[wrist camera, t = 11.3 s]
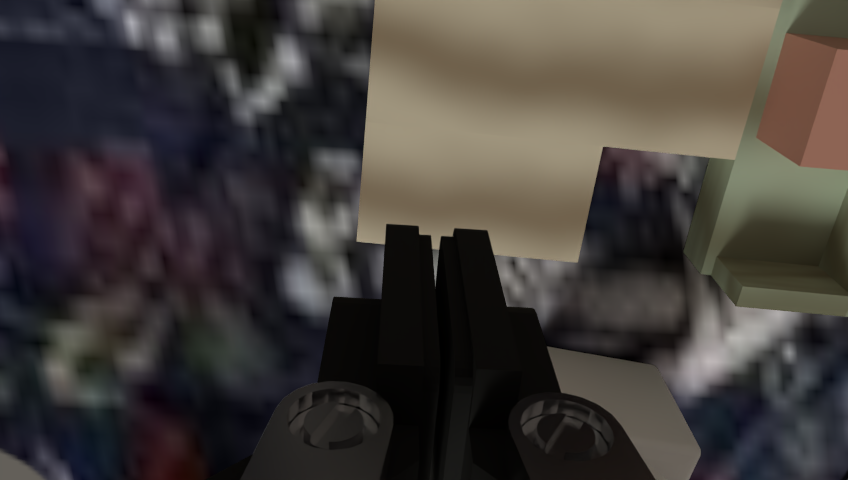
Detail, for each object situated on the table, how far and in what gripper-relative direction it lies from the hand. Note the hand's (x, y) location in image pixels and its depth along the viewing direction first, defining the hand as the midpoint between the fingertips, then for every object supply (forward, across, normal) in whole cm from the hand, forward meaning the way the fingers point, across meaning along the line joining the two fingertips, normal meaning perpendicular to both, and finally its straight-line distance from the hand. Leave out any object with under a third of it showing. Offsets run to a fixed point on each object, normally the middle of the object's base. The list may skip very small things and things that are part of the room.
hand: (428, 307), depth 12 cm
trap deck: (+22, -10, 0) cm, 25 cm away
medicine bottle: (+22, -11, +19) cm, 31 cm away
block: (+20, -18, 0) cm, 26 cm away
